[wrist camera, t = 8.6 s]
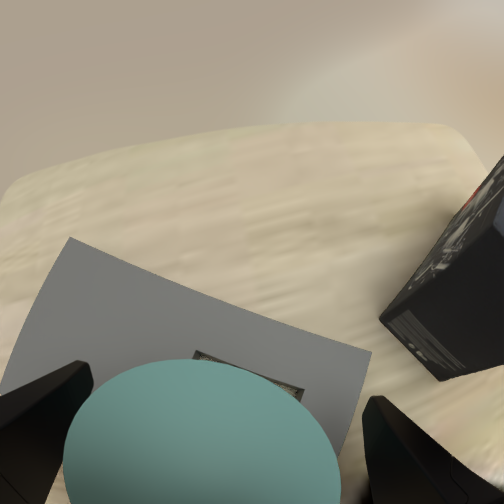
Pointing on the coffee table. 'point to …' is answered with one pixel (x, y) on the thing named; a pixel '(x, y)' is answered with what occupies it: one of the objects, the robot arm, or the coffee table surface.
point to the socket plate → (175, 335)
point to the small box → (458, 291)
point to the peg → (197, 441)
